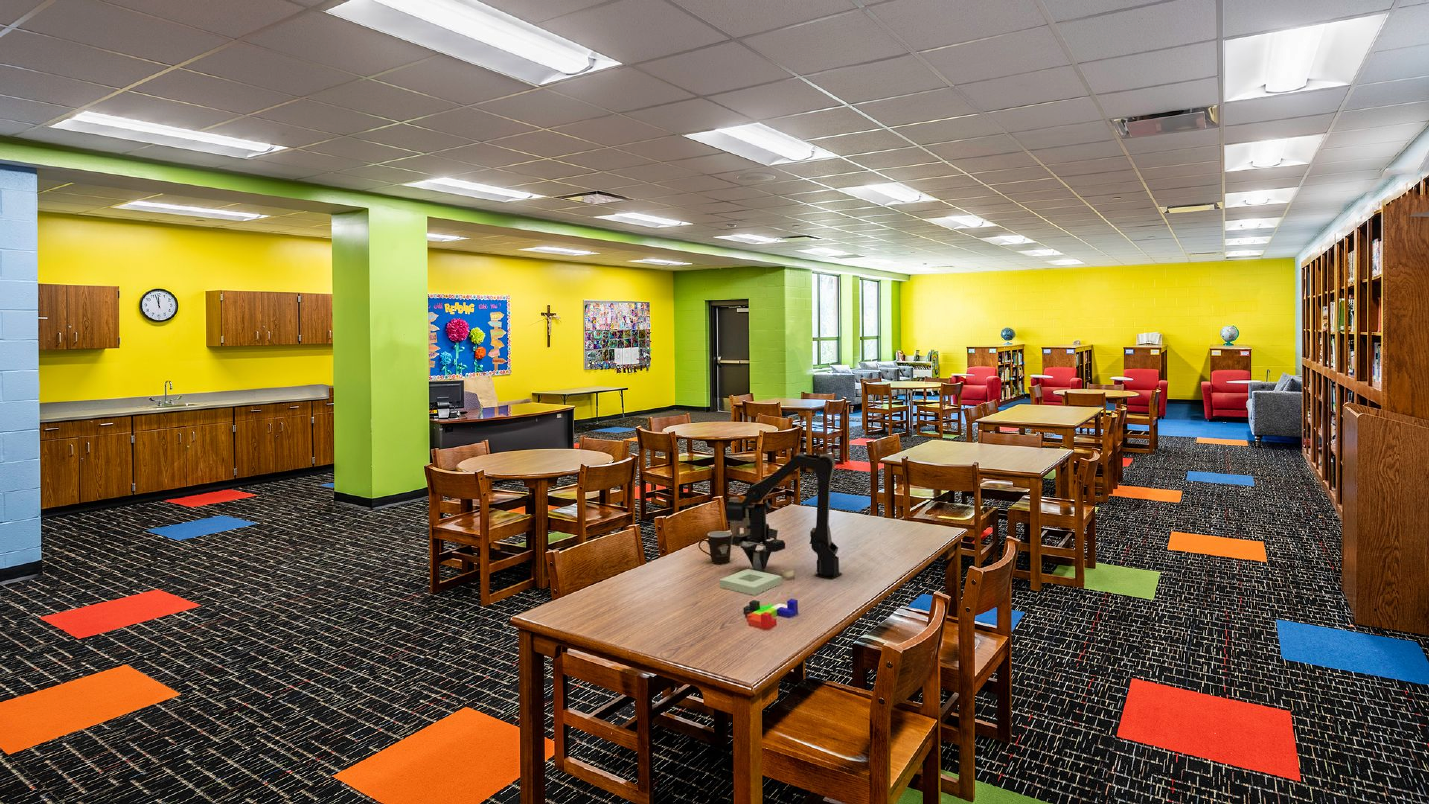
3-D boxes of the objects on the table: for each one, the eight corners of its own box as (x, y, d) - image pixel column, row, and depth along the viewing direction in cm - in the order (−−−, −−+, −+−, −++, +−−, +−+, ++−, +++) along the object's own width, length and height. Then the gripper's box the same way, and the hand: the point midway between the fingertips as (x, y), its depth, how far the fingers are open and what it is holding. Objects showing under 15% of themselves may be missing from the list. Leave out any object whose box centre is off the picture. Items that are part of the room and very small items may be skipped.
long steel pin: (767, 571, 262) (766, 551, 261) (760, 574, 259) (759, 553, 258) (758, 569, 264) (757, 549, 264) (750, 572, 262) (750, 552, 261)
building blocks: (761, 606, 229) (760, 592, 228) (798, 614, 220) (797, 600, 220) (729, 621, 217) (729, 606, 217) (767, 631, 209) (767, 615, 209)
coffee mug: (733, 558, 279) (732, 531, 279) (732, 565, 271) (731, 537, 270) (701, 558, 281) (700, 531, 280) (698, 565, 272) (697, 537, 271)
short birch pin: (796, 578, 254) (796, 570, 254) (789, 581, 251) (789, 573, 251) (786, 576, 257) (786, 568, 256) (779, 579, 254) (779, 571, 253)
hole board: (782, 583, 248) (781, 576, 248) (754, 595, 237) (754, 587, 237) (747, 576, 257) (747, 569, 257) (719, 587, 247) (719, 579, 247)
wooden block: (751, 548, 293) (749, 500, 291) (728, 544, 299) (727, 498, 298) (757, 546, 296) (755, 499, 294) (734, 542, 302) (732, 496, 301)
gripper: (794, 520, 260) (795, 566, 261) (750, 514, 273) (752, 557, 274) (774, 527, 252) (775, 574, 253) (730, 520, 264) (731, 565, 265)
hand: (759, 567), depth 262 cm, fingers closed on long steel pin, 4 cm apart
